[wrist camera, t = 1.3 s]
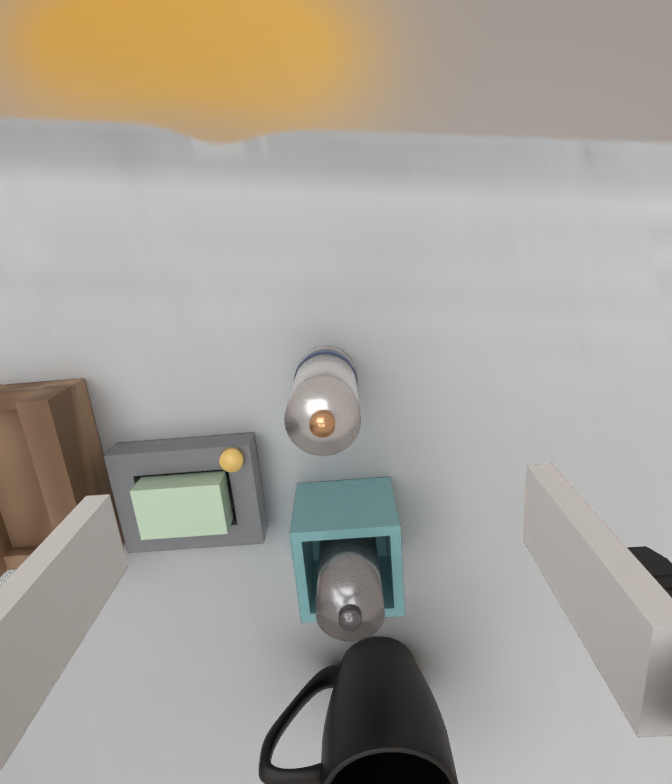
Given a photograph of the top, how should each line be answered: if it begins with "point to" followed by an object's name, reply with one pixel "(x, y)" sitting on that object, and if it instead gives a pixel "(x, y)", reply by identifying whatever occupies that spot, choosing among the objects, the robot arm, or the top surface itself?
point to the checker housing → (191, 456)
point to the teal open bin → (346, 534)
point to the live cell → (323, 403)
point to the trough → (45, 462)
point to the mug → (370, 723)
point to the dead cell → (349, 588)
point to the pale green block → (182, 505)
